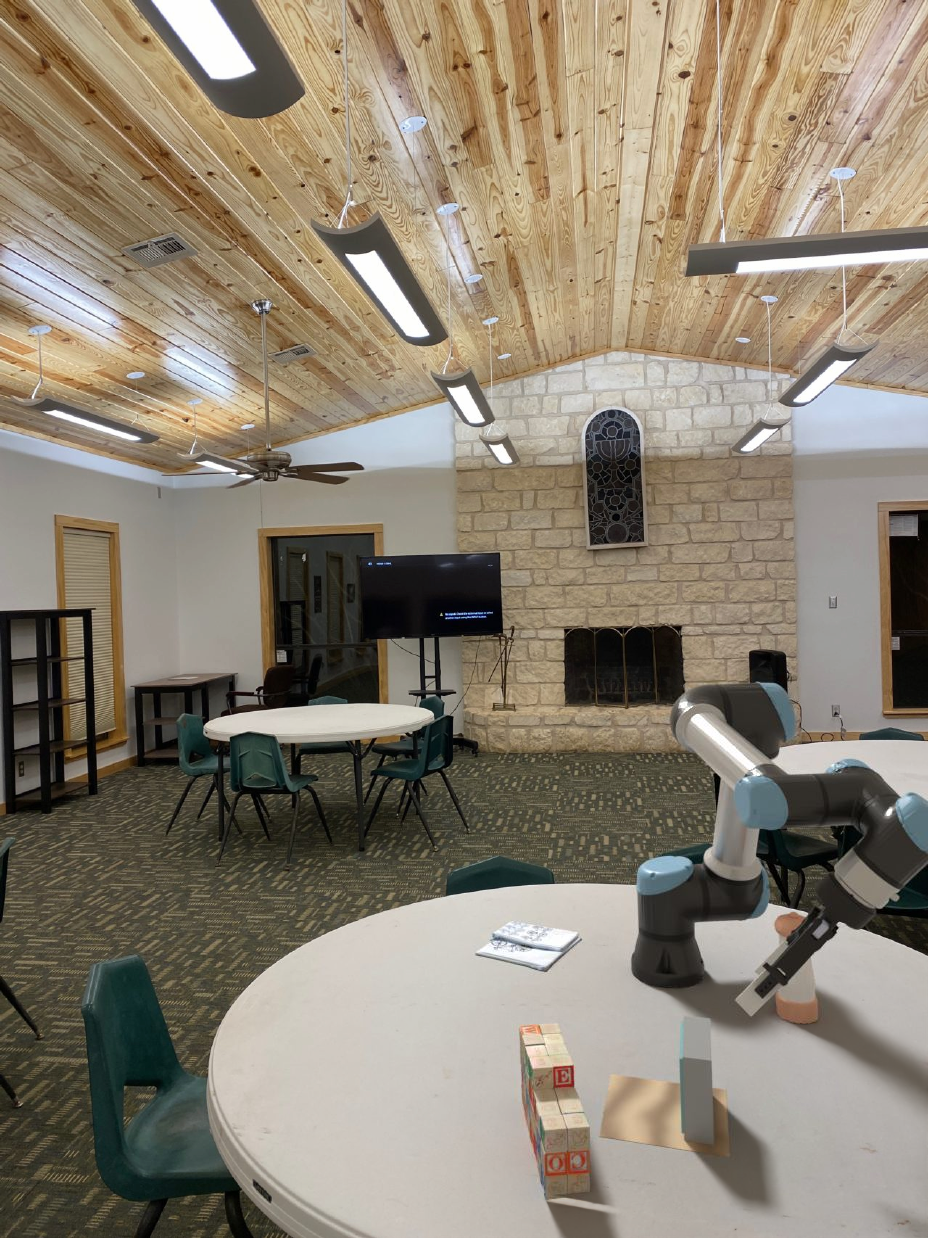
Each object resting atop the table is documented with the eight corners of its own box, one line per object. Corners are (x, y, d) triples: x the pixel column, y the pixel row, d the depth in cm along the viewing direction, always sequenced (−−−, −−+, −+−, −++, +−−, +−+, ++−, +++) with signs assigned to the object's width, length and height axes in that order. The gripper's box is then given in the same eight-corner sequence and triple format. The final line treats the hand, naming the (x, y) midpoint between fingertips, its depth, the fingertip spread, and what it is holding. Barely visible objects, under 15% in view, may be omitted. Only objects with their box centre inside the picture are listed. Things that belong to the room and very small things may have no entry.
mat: (726, 1093, 124) (725, 1089, 124) (730, 1161, 109) (729, 1157, 109) (611, 1078, 130) (610, 1074, 130) (599, 1140, 114) (599, 1136, 114)
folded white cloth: (582, 941, 186) (582, 931, 186) (544, 975, 169) (544, 965, 169) (512, 926, 196) (511, 917, 196) (469, 957, 179) (469, 947, 179)
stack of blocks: (592, 1197, 103) (589, 1104, 103) (545, 1201, 103) (542, 1107, 103) (560, 1098, 125) (557, 1021, 125) (521, 1101, 124) (518, 1024, 124)
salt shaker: (818, 1008, 150) (815, 908, 150) (817, 1027, 143) (814, 922, 143) (777, 1002, 153) (774, 903, 153) (774, 1019, 146) (771, 917, 146)
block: (712, 1095, 123) (710, 1018, 123) (714, 1145, 112) (711, 1060, 112) (683, 1091, 124) (680, 1015, 124) (681, 1140, 113) (679, 1056, 113)
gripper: (872, 934, 96) (757, 1046, 101) (884, 892, 117) (788, 986, 123) (820, 887, 99) (712, 998, 105) (840, 854, 121) (749, 947, 126)
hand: (753, 992), depth 114 cm, fingers open, 13 cm apart
